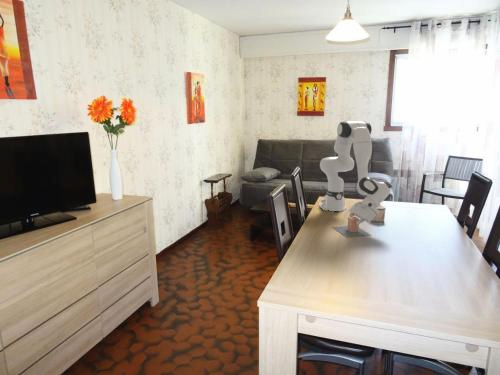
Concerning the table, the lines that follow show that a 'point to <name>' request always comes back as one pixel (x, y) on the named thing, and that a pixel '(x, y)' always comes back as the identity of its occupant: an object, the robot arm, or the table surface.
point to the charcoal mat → (347, 233)
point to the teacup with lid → (380, 214)
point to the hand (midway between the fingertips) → (352, 221)
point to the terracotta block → (352, 224)
